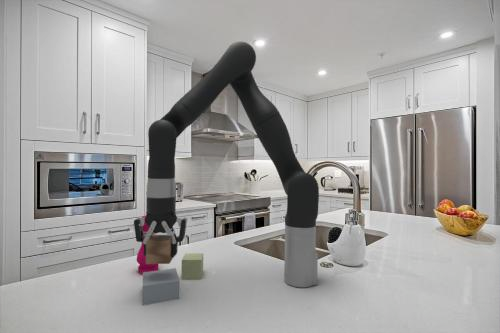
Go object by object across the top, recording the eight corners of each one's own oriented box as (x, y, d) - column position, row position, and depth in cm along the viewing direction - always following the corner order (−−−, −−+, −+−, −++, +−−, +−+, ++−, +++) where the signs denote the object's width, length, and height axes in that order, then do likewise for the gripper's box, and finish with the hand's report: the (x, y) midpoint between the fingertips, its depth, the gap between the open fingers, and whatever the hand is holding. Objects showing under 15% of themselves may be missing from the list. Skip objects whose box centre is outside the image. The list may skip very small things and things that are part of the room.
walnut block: (174, 255, 76) (174, 234, 75) (169, 263, 70) (169, 240, 69) (152, 256, 75) (152, 234, 75) (145, 264, 69) (146, 241, 69)
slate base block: (175, 285, 78) (175, 268, 78) (179, 299, 70) (179, 280, 70) (142, 290, 75) (142, 272, 75) (142, 306, 66) (142, 286, 66)
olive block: (203, 271, 88) (203, 253, 88) (201, 279, 82) (201, 259, 82) (184, 271, 88) (185, 253, 88) (181, 279, 82) (181, 260, 82)
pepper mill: (134, 276, 83) (135, 212, 83) (138, 267, 90) (138, 208, 90) (159, 274, 85) (159, 211, 85) (160, 265, 92) (161, 208, 92)
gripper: (190, 193, 76) (189, 252, 77) (138, 193, 75) (138, 252, 76) (185, 196, 69) (185, 261, 69) (128, 196, 68) (128, 262, 68)
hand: (160, 256), depth 72 cm, fingers closed on walnut block, 6 cm apart
